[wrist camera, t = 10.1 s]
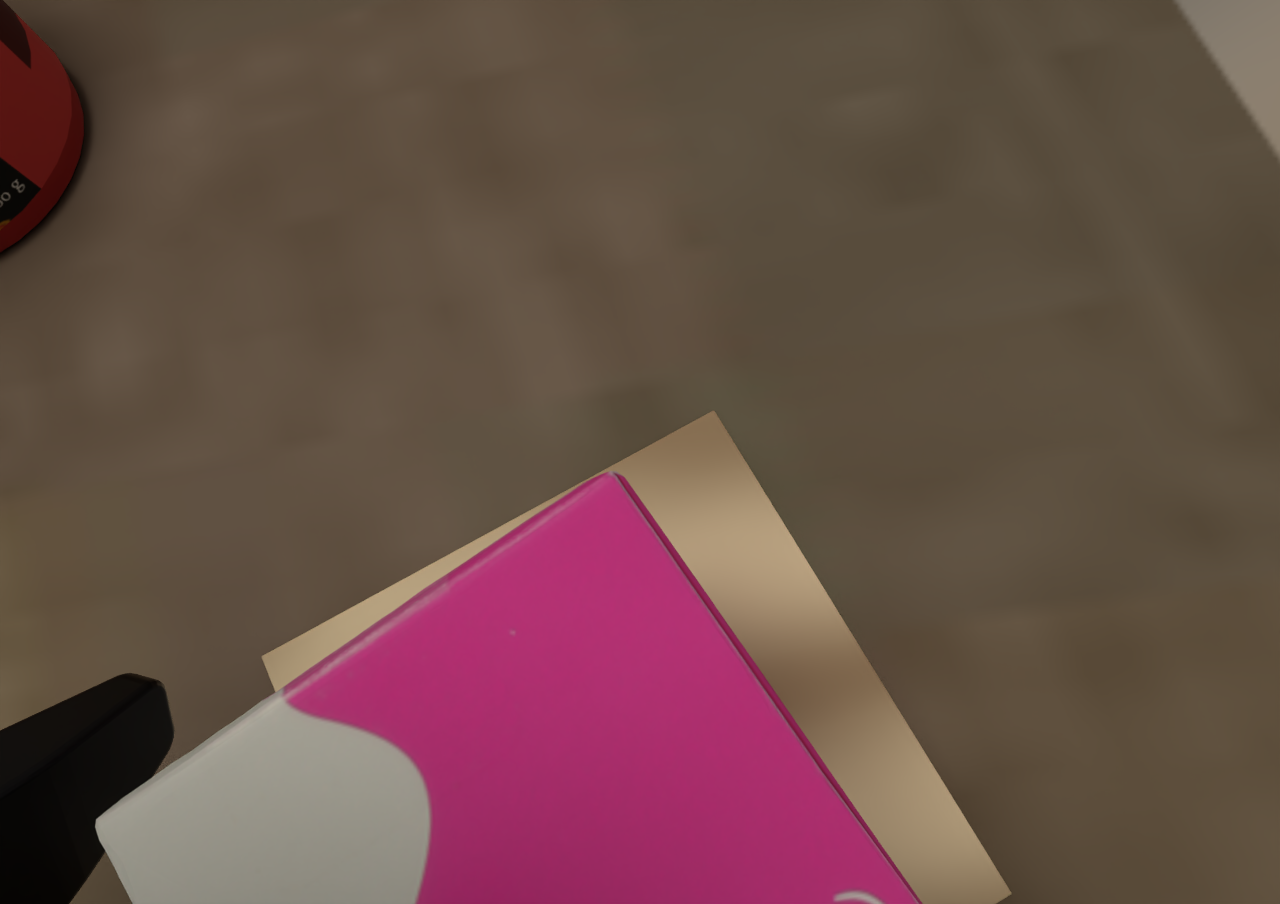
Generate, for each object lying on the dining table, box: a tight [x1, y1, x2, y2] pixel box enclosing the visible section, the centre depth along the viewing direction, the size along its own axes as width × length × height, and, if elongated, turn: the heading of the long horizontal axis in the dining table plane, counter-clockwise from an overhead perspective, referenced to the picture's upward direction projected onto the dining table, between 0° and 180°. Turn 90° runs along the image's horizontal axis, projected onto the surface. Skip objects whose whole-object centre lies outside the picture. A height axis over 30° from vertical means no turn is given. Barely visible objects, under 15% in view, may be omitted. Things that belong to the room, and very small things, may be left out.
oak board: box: [262, 411, 1012, 904], centre depth 18 cm, size 12×12×1 cm
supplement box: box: [95, 471, 923, 904], centre depth 12 cm, size 6×6×12 cm
